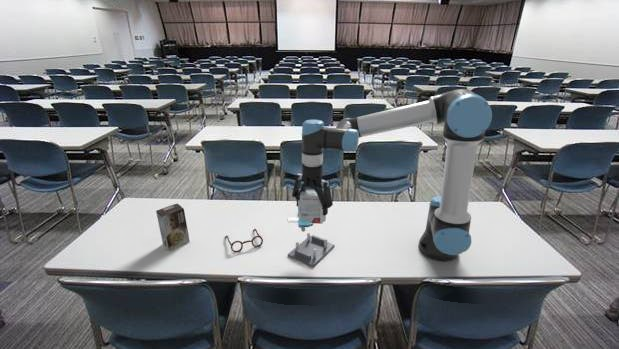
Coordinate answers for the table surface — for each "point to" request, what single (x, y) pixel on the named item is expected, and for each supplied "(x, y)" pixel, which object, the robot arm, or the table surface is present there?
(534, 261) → the table surface
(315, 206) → the ink box
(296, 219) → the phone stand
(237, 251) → the glasses
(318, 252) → the cradle
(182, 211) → the coffee box
